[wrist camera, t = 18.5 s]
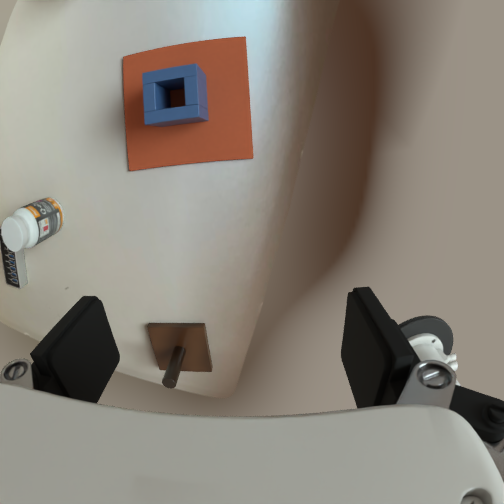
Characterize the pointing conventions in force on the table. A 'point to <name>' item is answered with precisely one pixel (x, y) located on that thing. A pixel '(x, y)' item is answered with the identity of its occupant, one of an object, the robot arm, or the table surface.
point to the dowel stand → (180, 349)
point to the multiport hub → (13, 266)
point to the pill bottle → (32, 224)
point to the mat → (191, 134)
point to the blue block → (159, 96)
